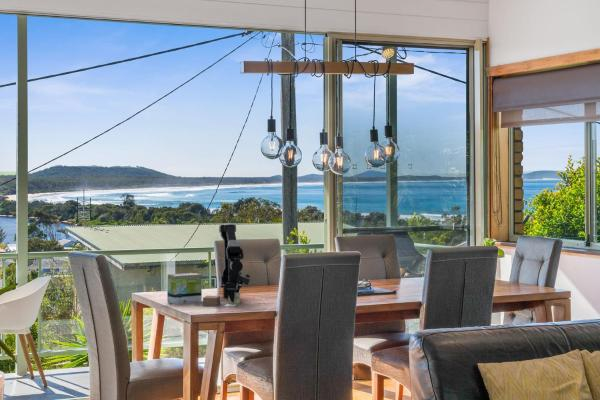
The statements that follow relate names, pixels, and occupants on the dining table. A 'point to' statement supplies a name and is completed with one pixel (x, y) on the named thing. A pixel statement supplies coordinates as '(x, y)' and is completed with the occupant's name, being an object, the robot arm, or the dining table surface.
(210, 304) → the walnut block
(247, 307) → the dining table surface
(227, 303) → the build mat
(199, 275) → the tea box
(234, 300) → the grey green cube
